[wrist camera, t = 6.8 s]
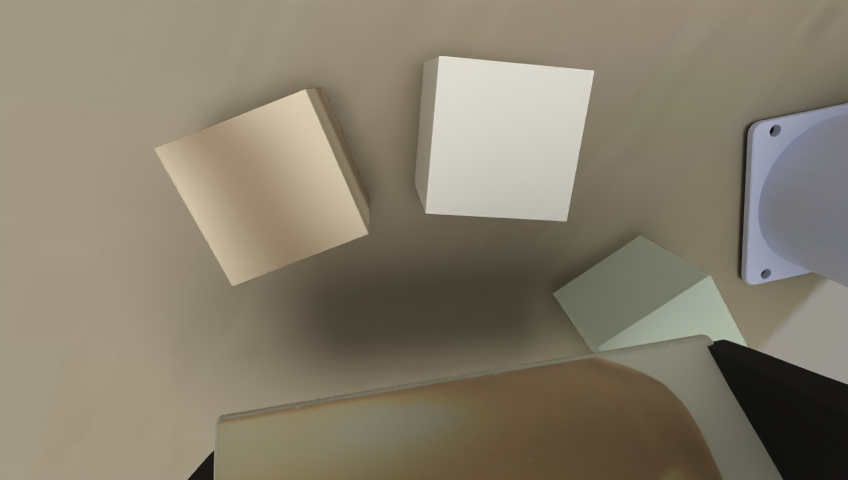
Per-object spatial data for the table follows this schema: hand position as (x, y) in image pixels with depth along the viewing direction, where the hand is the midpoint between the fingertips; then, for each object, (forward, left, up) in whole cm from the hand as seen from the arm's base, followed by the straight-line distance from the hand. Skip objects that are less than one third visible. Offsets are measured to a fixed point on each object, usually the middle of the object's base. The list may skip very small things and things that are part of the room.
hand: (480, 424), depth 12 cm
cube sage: (-9, +4, -10) cm, 14 cm away
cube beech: (+5, -6, -10) cm, 13 cm away
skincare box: (-6, +2, 0) cm, 7 cm away
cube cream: (-3, -6, -10) cm, 12 cm away
